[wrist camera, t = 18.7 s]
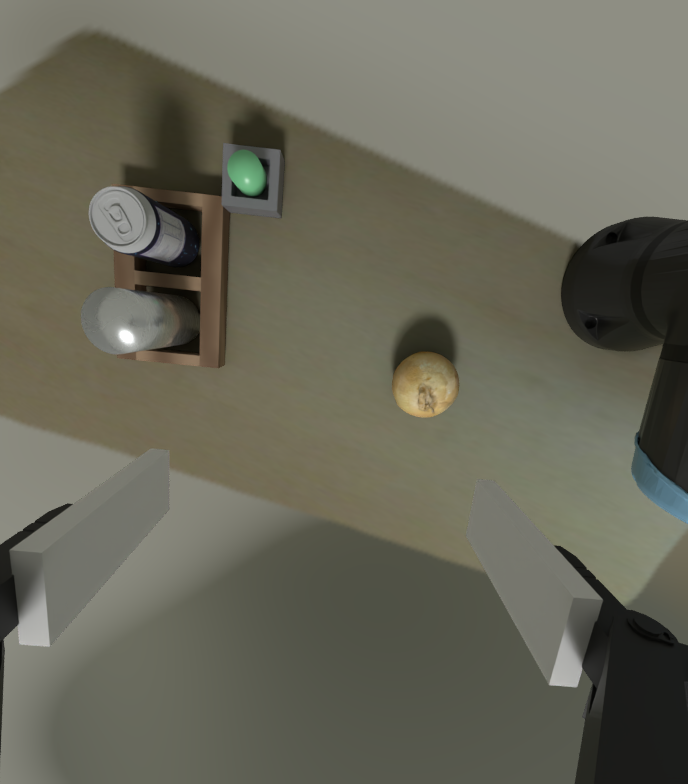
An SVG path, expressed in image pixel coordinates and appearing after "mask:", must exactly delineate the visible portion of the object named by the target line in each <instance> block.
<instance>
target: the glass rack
mask: <svg viewBox="0 0 688 784" xmlns="http://www.w3.org/2000/svg"><path fill="white" fill-rule="evenodd" d="M112 186H117V187H118V186H126V187H131V188H134V189H136V190H138V191H140V192H141V193H143V194H145V195H146V196H148V197H150V198H151V199H153V200H155V201H156V202H158V203H160V204H161V205H163V206H165V207H166V208H174V209H183V210H192V211H201V212H202V249H201V277H191V276H182V275H173V274H163V273H154V272H146V260H145V259H141V258H137V257H134V256H130V255H126V254H122V253H119V252H117V251H115V250H114V274H115V288H122V289H130V290H138V291H146V286H155V287H164V288H173V289H183V290H192V291H201V304H200V353H197V352H187V351H177V350H167V349H158V348H157V349H151V350H144V351H138V352H132V353H125V354H117V358H122V359H132V360H142V361H152V362H162V363H172V364H182V365H192V366H202V367H212V368H220V367H222V366H224V365H225V342H226V312H227V281H228V251H229V221H230V212H229V211H228V210H226V209H225V208H224V207H223V206H222V196H215V195H206V194H198V193H189V192H180V191H171V190H163V189H154V188H145V187H137V186H128V185H119V184H112Z"/></svg>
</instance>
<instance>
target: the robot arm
mask: <svg viewBox="0 0 688 784" xmlns="http://www.w3.org/2000/svg"><path fill="white" fill-rule="evenodd" d="M562 306H563V311H564V315H565V317H566V320H567V322H568V324H569V326H570V327H571V329H572V330H573V331H574V332H575V334H576V335H577V336H578V337H580V338H581V339H582V340H583V341H585V342H587V343H588V344H590V345H592V346H595V347H598V348H602V349H608V350H615V351H636V350H641V349H646V348H649V347H653V346H657V345H661V344H663V348H662V351H661V355H660V358H659V361H658V365H657V368H656V372H655V375H654V379H653V383H652V386H651V390H650V393H649V397H648V401H647V404H646V408H645V412H644V415H643V419H642V422H641V426H640V430H639V432H637V433H636V436H635V446H636V448H635V453H634V457H633V462H632V468H631V469H632V476H633V478H634V480H635V481H636V483H637V486H638V487H639V489H640V490H641V491H642V492H643V493H644V494H645V495H646V496H647V497H648V498H649V499H650V500H651V501H653V502H654V503H655V504H656V505H658V506H659V507H660V508H662V509H663V510H665V511H666V512H668V513H670V514H671V515H673V516H675V517H676V518H678V519H680V520H681V521H683V522H685V523H687V524H688V221H686V220H677V219H669V218H659V217H640V218H634V219H630V220H626V221H624V222H620V223H617V224H614V225H611V226H609V227H606V228H604V229H602V230H601V231H599V232H597V233H596V234H594V235H593V236H592V237H591V238H589V239H588V240H587V241H586V242H585V243H584V244H583V245H582V246H581V247H580V248H579V250H578V251H577V252H576V254H575V255H574V257H573V258H572V260H571V262H570V264H569V266H568V268H567V271H566V273H565V276H564V280H563V285H562ZM168 510H169V450H162V449H149V450H148V451H147V452H145V453H144V454H142V455H141V456H140V457H138V458H137V459H135V460H134V461H133V462H131V463H130V464H129V465H127V466H126V467H124V468H123V469H122V470H120V471H119V472H117V473H116V474H115V475H113V476H112V477H110V478H109V479H108V480H106V481H105V482H104V483H102V484H101V485H99V486H98V487H97V488H95V489H94V490H92V491H91V492H90V493H88V494H87V495H85V496H84V497H83V498H81V499H80V500H79V501H77V502H76V503H74V504H65V505H63V506H61V507H58V508H56V509H54V510H51V511H49V512H47V513H46V514H45V515H43V516H42V517H40V518H39V519H37V520H36V521H35V522H34V523H31V524H30V525H28V526H27V527H25V528H24V529H23V531H20V532H18V533H17V534H15V535H14V536H12V537H11V538H9V539H8V540H6V541H5V542H4V543H2V544H1V545H0V752H1V728H2V704H3V678H4V654H5V648H4V641H3V639H4V638H5V637H6V636H7V635H8V634H9V633H10V632H11V631H12V630H13V629H14V628H15V627H16V626H17V625H18V633H19V642H20V643H19V644H21V645H35V646H47V647H50V646H51V645H52V644H53V642H54V641H55V640H56V639H57V638H58V637H59V636H60V635H61V633H62V632H63V631H64V630H65V629H66V628H67V626H68V625H69V624H70V623H71V622H72V621H73V620H74V619H75V617H76V616H77V615H78V614H79V613H80V612H81V610H82V609H83V608H84V607H85V606H86V605H87V603H88V602H89V601H90V600H91V599H92V598H93V597H94V596H95V594H96V593H97V592H98V591H99V590H100V589H101V587H102V586H103V585H104V584H105V583H106V582H107V581H108V579H109V578H110V577H111V576H112V575H113V574H114V573H115V571H116V570H117V569H118V568H119V567H120V565H121V564H122V563H123V562H124V561H125V560H126V559H127V557H128V556H129V555H130V554H131V553H132V552H133V551H134V550H135V548H136V547H137V546H138V545H139V544H140V543H141V541H142V540H143V539H144V538H145V537H146V536H147V535H148V533H149V532H150V531H151V530H152V529H153V528H154V526H155V525H156V524H157V523H158V522H159V521H160V520H161V518H162V517H163V516H164V515H165V514H166V513H167V512H168ZM466 537H467V539H468V540H469V542H470V544H471V546H472V548H473V549H474V551H475V553H476V555H477V557H478V558H479V560H480V562H481V564H482V566H483V567H484V569H485V571H486V573H487V575H488V576H489V578H490V580H491V582H492V584H493V585H494V587H495V589H496V591H497V593H498V594H499V596H500V598H501V600H502V601H503V603H504V605H505V607H506V608H507V610H508V612H509V614H510V616H511V618H512V619H513V621H514V623H515V625H516V627H517V628H518V630H519V632H520V634H521V636H522V637H523V639H524V641H525V643H526V644H527V646H528V648H529V650H530V652H531V653H532V655H533V657H534V659H535V661H536V662H537V664H538V666H539V668H540V670H541V671H542V673H543V675H544V677H545V679H546V680H547V682H548V684H549V685H555V686H556V685H557V686H570V687H577V685H578V682H579V679H580V675H581V672H582V669H584V671H585V672H586V674H587V675H588V677H589V678H590V680H591V681H592V683H593V684H592V687H591V691H590V694H589V697H588V700H587V703H586V706H585V709H584V713H583V716H582V717H583V718H585V723H584V730H583V737H582V742H581V748H580V754H579V760H578V767H577V772H576V779H575V784H688V645H684V644H681V643H678V641H677V639H676V637H675V636H674V635H673V634H672V633H671V632H670V631H669V630H668V629H667V628H665V627H664V626H663V625H661V624H660V623H659V622H657V621H655V620H654V619H652V618H650V617H648V616H646V615H644V614H641V613H639V612H636V611H633V610H627V609H626V608H625V607H624V606H623V605H622V604H621V603H620V602H619V601H618V600H617V599H616V598H615V597H614V596H613V595H612V594H611V593H610V592H609V591H608V590H607V589H606V587H605V586H604V585H603V584H602V583H601V582H600V581H599V580H597V579H596V577H595V576H594V575H593V574H592V573H591V572H590V571H589V570H587V568H586V567H585V566H584V565H583V563H582V562H581V561H580V560H579V559H578V558H577V557H576V556H574V555H573V554H571V553H570V552H568V551H567V550H566V549H564V548H563V547H561V546H554V545H553V544H552V543H551V542H550V541H549V540H548V539H547V538H546V537H545V535H544V534H543V533H542V532H541V531H540V530H539V529H538V528H537V527H536V526H535V524H534V523H533V522H532V521H531V520H530V519H529V518H528V517H527V516H526V515H525V513H524V512H523V511H522V510H521V509H520V508H519V507H518V506H517V505H516V504H515V502H514V501H513V500H512V499H511V498H510V497H509V496H508V495H507V494H506V493H505V491H504V490H503V489H502V488H501V487H500V486H499V485H498V484H497V483H496V482H495V481H494V480H483V479H477V482H476V487H475V492H474V497H473V502H472V507H471V512H470V517H469V522H468V528H467V533H466Z"/></svg>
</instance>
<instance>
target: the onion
mask: <svg viewBox="0 0 688 784" xmlns="http://www.w3.org/2000/svg"><path fill="white" fill-rule="evenodd" d="M392 390H393V394H394V397H395V400H396V402H397V404H398V406H399V407H400V408H401V409H402V410H404V411H405V412H407V413H408V414H410V415H413V416H417V417H432V416H435V415H438V414H440V413H442V412H443V411H445V410H446V409H447V408H448V407H449V406H450V405H451V404H452V403H453V402H454V400H455V399H456V397H457V395H458V391H459V378H458V374H457V371H456V369H455V367H454V366H453V364H452V363H451V362H450V361H449V360H448V359H446V358H445V357H443V356H442V355H440V354H437V353H434V352H418V353H414V354H412V355H410V356H409V357H407V358H406V359H404V360H403V361H402V362H401V363H400V364H399V366H398V367H397V369H396V370H395V372H394V375H393V381H392Z"/></svg>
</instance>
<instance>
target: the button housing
mask: <svg viewBox="0 0 688 784" xmlns="http://www.w3.org/2000/svg"><path fill="white" fill-rule="evenodd" d="M239 150H248V151H251V152H252V153H254V154H255V155H256V156H257V157H258V159H259V161H260V163H261V164H262V166H263V168H264V170H265V172H266V174H267V186H266V188H265V190H264V191H263V193H261V194H260V195H258V196H254V197H251V196H247V195H245V194H243V193H242V192H241V191H240V190H239V188H238V187H237V186H236V185H235V184H234V182H233V181H232V180H231V178H230V177H229V174H228V170H227V166H228V161H229V159H230V157H231V155H232V154H233V153H235V152H236V151H239ZM284 167H285V161H284V158H283V155H282V153H281V150H277V149H269V148H260V147H252V146H243V145H235V144H227V143H223V170H222V206H223V207H224V208H225V209H226V210H228V211H229V212H230V213H239V214H248V215H257V216H266V217H274V218H281V216H282V199H283V183H284Z"/></svg>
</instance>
